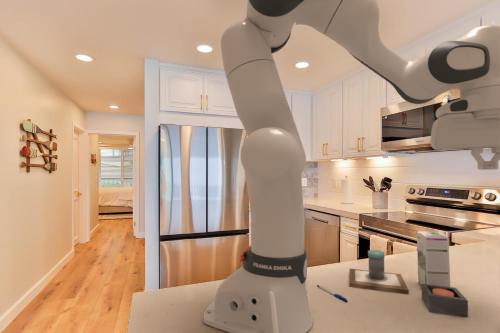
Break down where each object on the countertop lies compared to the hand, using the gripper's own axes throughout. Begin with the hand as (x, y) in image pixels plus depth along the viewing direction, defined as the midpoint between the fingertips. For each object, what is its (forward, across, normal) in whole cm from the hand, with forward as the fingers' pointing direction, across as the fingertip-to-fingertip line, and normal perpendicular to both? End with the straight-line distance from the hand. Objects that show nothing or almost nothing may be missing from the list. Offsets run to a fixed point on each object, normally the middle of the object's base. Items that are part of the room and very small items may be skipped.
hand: (487, 169), depth 59 cm
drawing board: (+31, +21, -13) cm, 40 cm away
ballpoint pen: (+32, +32, -1) cm, 45 cm away
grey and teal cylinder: (+30, +21, -13) cm, 39 cm away
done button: (+30, +8, -2) cm, 31 cm away
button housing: (+31, +8, -2) cm, 32 cm away
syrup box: (+31, +7, -13) cm, 35 cm away
